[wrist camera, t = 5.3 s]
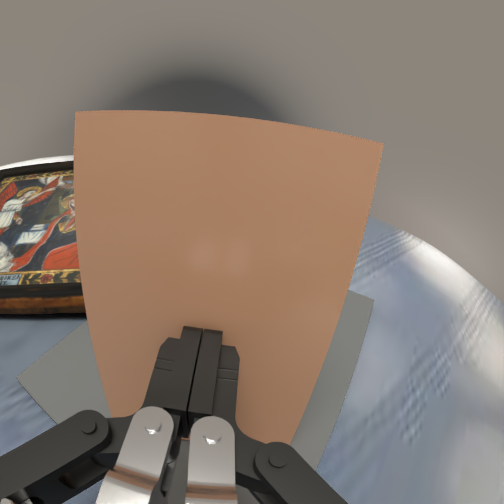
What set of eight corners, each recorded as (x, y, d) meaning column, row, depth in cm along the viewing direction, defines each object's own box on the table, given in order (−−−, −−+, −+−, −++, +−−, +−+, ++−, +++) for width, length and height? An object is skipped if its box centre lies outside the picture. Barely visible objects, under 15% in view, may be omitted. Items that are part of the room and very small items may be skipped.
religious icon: (-18, 184, 41) (-20, 170, 39) (156, 163, 54) (156, 148, 53) (-113, 336, 12) (-126, 315, 11) (212, 309, 26) (214, 282, 24)
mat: (19, 382, 16) (16, 377, 16) (203, 238, 35) (203, 234, 34) (266, 559, 10) (268, 559, 10) (372, 304, 29) (374, 299, 28)
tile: (287, 448, 15) (383, 143, 9) (114, 424, 15) (75, 111, 8) (285, 422, 17) (363, 138, 11) (123, 400, 17) (101, 110, 10)
